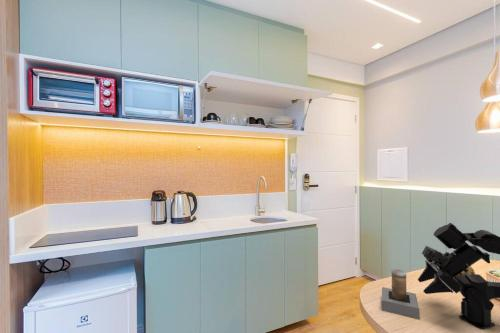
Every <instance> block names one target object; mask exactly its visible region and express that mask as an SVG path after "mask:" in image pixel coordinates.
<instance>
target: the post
mask: <svg viewBox="0 0 500 333" xmlns="http://www.w3.org/2000/svg"><path fill="white" fill-rule="evenodd" d="M391 289H392V300H397V301H401V302H406V303H407V297H406V292H407V272H406V271H404V270H402V269H391Z"/></svg>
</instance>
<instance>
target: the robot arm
mask: <svg viewBox="0 0 500 333" xmlns="http://www.w3.org/2000/svg"><path fill="white" fill-rule="evenodd" d="M433 236H434V237H435V238H436V239H438V241H439V242H440V243H442V244H443V245H444V246H445V247H446V249H453V251H452V252H450V253H449V251H446V252H444V253H442V252H441V251H439V250H437V249H434V248H432V247H430V246H428V245H425V247H424V249H423V250H422V252H421V254H422V256H423V257H424V258H425V259H426V260H425V268H424V270H423V271H422V273H421V274H420V275H419V277H418V278H417V281H418V282H419V283H423V282H426V281H429V280H432V282H431V283H429V284H428V285H427V286H426V287H425V288H424V289H423V291H422V292H423V293H424V294H426V295H430V294H438V293H439V294H440V293H442V294H443V293H452V294H453V293H455V294H458V293H460V294H461V296H462V298H461V300H462V301H460V313H461V314H460V315H458V317H459V318H460V319H461V320H464V321H466V322H467V323H469V324H471V325H473V326H474V327H476V328H478V329H481V330H482V329H483V330H484V329H486V328H487V329H488V328H490V327H493V326H495V325H496V323H494V322H493V321H492V310H493V309H494V307H495V304H494V303H493V302H492V301H491V300H493V299H500V281H499V282H496V281H488V280H487V279H485V278H484V277H483V276H482V275H481V274H477V273H476V274H473V275H470V274H466V273H464V274H465V275H459V276H458V277H456V276H457V275H458V274H459V273H461V272H462V271H464V272H468V270H467V268H468V267H470V266H471V267H472V266H473V265H474V264H475V263H477V262H478V261H480V260H481V259H482V261H485V262H486V263H487V264H491V260H490V256H491V255H490V254H491V253H492V254H495V255H496V254H497V255H500V236H499V235H496V234H495V233H492V232H490V231H489V230H486V229H480V230H476V231H475V232H462V231H460V230H459V229H458V228H457V226H456V225H454V223H451V222H449V223H448V224H445V225H443V226H440V227H439V226H438V228H437V229H436V230H434V232H433ZM467 242H469V243H470V244H471V245H470V244H468V243H467ZM478 247H479V248H478ZM482 250H483V251H482ZM484 251H485V252H484ZM489 253H490V254H489ZM466 264H467V265H466Z"/></svg>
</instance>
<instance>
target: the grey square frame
mask: <svg viewBox="0 0 500 333" xmlns="http://www.w3.org/2000/svg"><path fill="white" fill-rule="evenodd" d="M406 297H407V303H406V302H401V301H397V300H392V288H389V287H384V286H382V287H381V311H384V312H389V313H393V314H396V315H400V316H405V317H409V318H414V319H416V320H417V319H418V320H420V306H419V301H418V298H417V297H418V296H417V294H416V293H413V292H409V291H406Z"/></svg>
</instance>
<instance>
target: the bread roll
mask: <svg viewBox="0 0 500 333" xmlns="http://www.w3.org/2000/svg"><path fill="white" fill-rule="evenodd" d="M466 265H467V264H466ZM467 270H468V272H464V271H462V272H461V273H459V274H458V275H457V276H456V277H458V276H459V275H465V274H464V273H466V274H470V275H473V274H475V273H476V272H475V269H473V267H472V265H471V266H470V267H468V268H467Z"/></svg>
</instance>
